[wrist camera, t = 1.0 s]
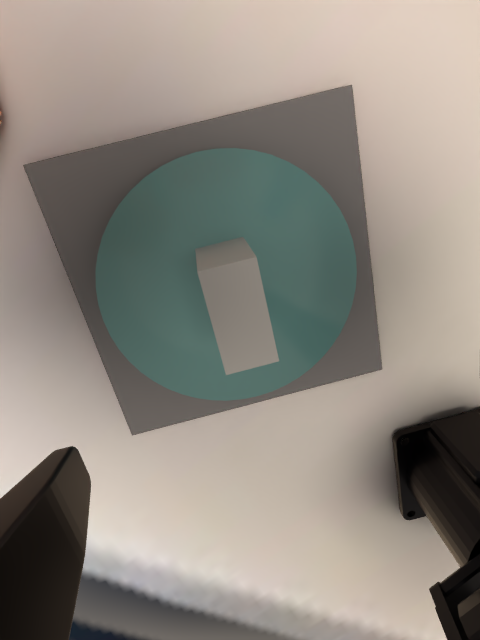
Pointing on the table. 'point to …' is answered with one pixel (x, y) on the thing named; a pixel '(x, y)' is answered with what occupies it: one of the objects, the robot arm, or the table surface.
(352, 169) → the mat
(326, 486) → the table surface
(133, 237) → the lid
